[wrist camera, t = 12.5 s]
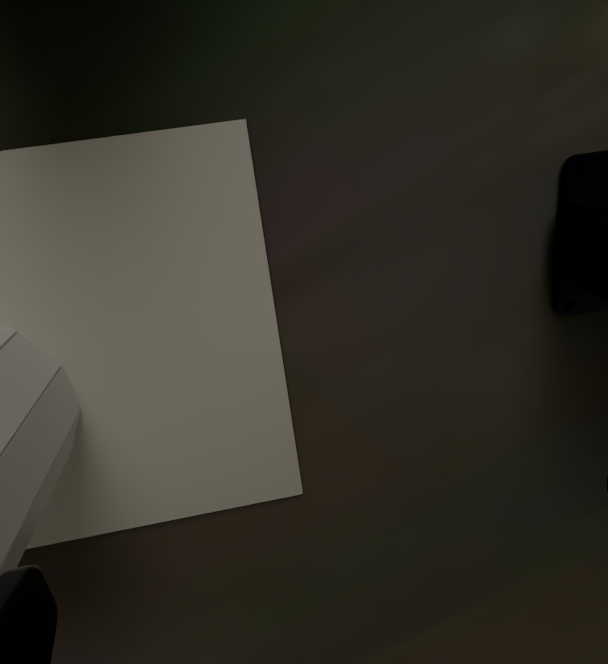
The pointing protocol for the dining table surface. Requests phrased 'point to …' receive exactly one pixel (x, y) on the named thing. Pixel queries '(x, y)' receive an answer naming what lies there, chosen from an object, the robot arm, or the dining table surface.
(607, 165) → the robot arm
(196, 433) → the placemat
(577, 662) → the dining table surface
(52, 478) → the cover cup
